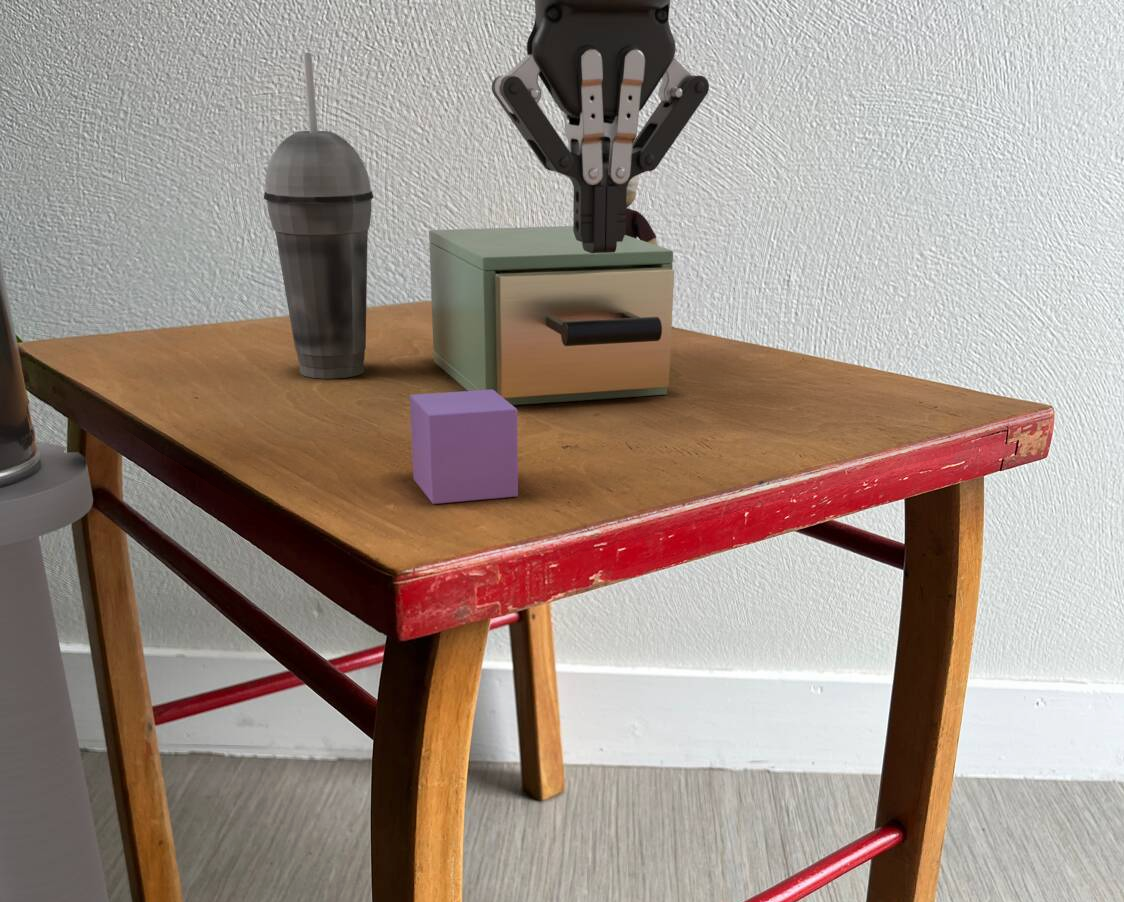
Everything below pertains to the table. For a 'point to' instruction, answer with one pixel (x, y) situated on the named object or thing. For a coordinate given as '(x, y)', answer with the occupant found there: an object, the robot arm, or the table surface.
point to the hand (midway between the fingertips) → (598, 250)
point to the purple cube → (464, 446)
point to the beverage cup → (322, 243)
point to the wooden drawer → (583, 329)
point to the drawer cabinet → (471, 303)
